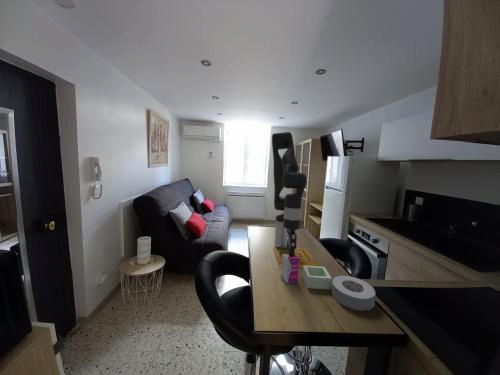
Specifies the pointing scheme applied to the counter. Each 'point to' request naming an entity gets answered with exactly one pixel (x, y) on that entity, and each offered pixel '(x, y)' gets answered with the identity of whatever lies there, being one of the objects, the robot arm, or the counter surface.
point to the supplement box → (289, 269)
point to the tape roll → (353, 293)
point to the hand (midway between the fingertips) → (290, 252)
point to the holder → (316, 277)
